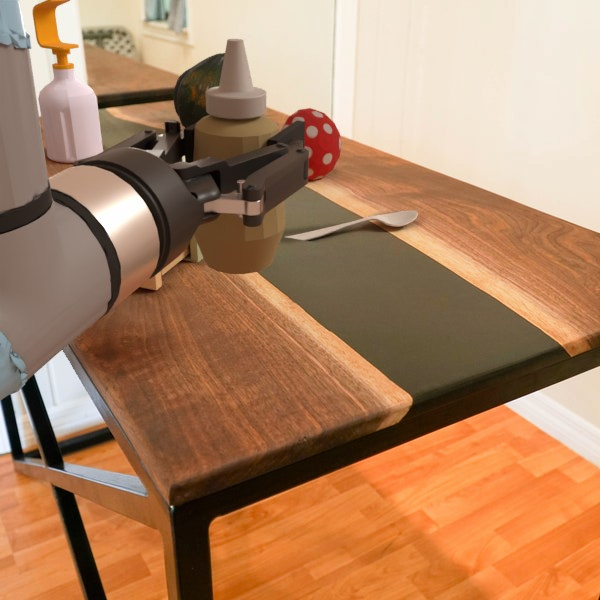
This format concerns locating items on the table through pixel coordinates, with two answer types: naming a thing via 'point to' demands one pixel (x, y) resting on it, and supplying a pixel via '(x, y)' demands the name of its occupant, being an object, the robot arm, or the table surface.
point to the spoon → (388, 219)
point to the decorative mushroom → (318, 141)
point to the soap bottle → (65, 97)
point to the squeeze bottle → (229, 143)
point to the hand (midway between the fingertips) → (261, 132)
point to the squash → (196, 89)
